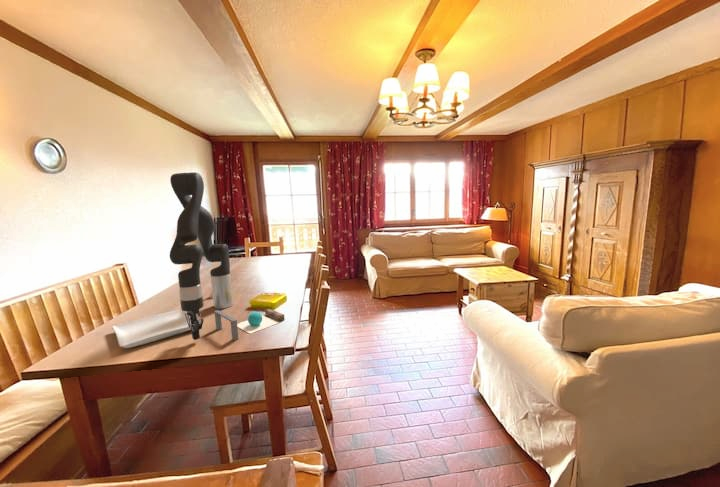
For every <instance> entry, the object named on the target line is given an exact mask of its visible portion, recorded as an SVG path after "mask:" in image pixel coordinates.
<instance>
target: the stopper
mask: <svg viewBox="0 0 720 487" xmlns="http://www.w3.org/2000/svg"><path fill="white" fill-rule="evenodd" d="M264 312H265V316H268V317H269V318H271V319H272V318H273V320H276V321H278V322H283V321H285V314H284V313H281V312H279V311H276V310H275V309H274V310H271V309H266V310H265V309H264Z"/></svg>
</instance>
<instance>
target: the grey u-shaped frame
mask: <svg viewBox="0 0 720 487" xmlns="http://www.w3.org/2000/svg"><path fill="white" fill-rule="evenodd" d="M222 318H224V319H226V320H227V321H229V322H230V330H231V339H232V340H233V341H238V340H239V332H238V331H239V330H238V329H239V328H238V327H237V324H238V320H237V319H236V318H234V317H232V316H230V315H228V314H226V313H225V312H222V311H221V310H219V309H216V310H214V321H215V329H216V330H218V331H220V330H223V326H222Z"/></svg>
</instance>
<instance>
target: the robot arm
mask: <svg viewBox="0 0 720 487" xmlns="http://www.w3.org/2000/svg"><path fill="white" fill-rule="evenodd" d="M204 183H205V182H204V179H203V176H202V175H201V174H200V173H199V172H194V171H193V172H179V173H178V172H177V173H173V174H172V175H171V176H170V186H171V188H172V190H173V192H174V194H175V196H176V197H177V199H178V200H179V202H180V203H181V204H180V205H182V207H183V210H182V211H181V212H180V214H179V216H178V218H177V223H176V236H175V239H174V240H173V243H172V246H171V248H170V252H169V259H170V261H171V263H172V264H174V265H189V264H191V267H190V268H186V269H182V270H180V271H179V272H178V274H177V275H178V276H177V277H178V287H179V289H178V290H179V300H180V310H181V309H182V311H186V312H187V313H186V314H185V317H186V320H187V323H188V326H189V327H190V329H191V330H190V331H191V337H192V338H191V339H193V340H194V341H196V340H199V339H200V338H201V335H200V334H201V333H200V330H202V328H203V325H204V318H201V317H202V314H201V312H200V310H201V309H202V308H203V307H204V306H205V305H204V296H203V288H202V285H201V284H202V283H201V275H200V273H201V272H200V270H201V264H202V258H203V255H204V257H205V260H207V262H209V263H219V262H220V265H218V266H217V267H214V268H212V269H211V270H210V271H209V273H210V282H211V283H210V284H211V293H213V298H212V301H213V308H214V309H216V310H219V309H226V308H230V307H231V306H233V305H234V302H233V291H232V281H231V280H232V278H231V270H230V269H231V267H230V266H231V264H230V250H229V245H228V244H226V243H212V242H211V237H212V236H213V234H214V232H215V229H216V225H215V224H216V223H215V221H214V219H213V215H212V214H211V212H209V211H208V210H207V208H205V207H203V206H202V202H203V198H204V197H203V196H204V189H205V184H204ZM197 239H198V241H199V244H200V245H198V244H189V243H192V242H195V241H197Z"/></svg>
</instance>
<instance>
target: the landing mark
mask: <svg viewBox="0 0 720 487" xmlns="http://www.w3.org/2000/svg"><path fill="white" fill-rule="evenodd" d="M261 315H262V322H261V323H260V324H259V325H257V326H252V325H250V324H249V322H248V319H247V320H244V321H240V322H239V323H238V322H237V328H238V329H240V330H241V331H244V332H245V333H247V334H249V335H251V334H255V333H257V332H259V331H262V330H265V329H267V328H270V327H272V326H274V325H278V324H279V323H280V321H278V320H276V319H272V318H271V317H269V316H268V317H267V315H263V314H261Z"/></svg>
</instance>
